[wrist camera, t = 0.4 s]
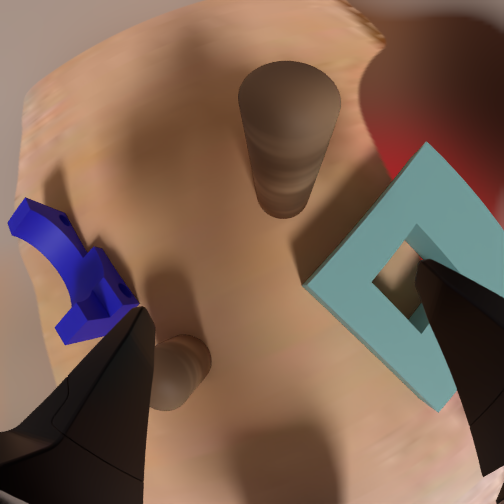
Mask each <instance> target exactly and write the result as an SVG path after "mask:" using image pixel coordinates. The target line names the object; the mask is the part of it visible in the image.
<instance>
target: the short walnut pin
mask: <svg viewBox="0 0 504 504" xmlns="http://www.w3.org/2000/svg"><path fill="white" fill-rule="evenodd" d="M210 368H211V355H210V352H209V350H208V348H207V347H206V345H205V344H204V343H203V342H202V341H201V340H199V339H198V338H196V337H193V336H190V335H179V336H176V337H174V338H171V339H169V340H167V341H165V342H163V343H160V344H158V345H156V346H155V354H154V374H153V382H152V390H151V398H150V407H151V408H153V409H156V410H160V411H170V410H174V409H177V408H178V407H180V406H181V405H183V403H184V402H185V401H186V400H187V399H188V398H189V396H190V395H191V394H192V393H193V392H194V390H195V389H196V388H197V387H198V385H199V384H200V383H201V382H202V381H203V379H204V378H205V377H206V376H207V374H208V373H209V371H210Z"/></svg>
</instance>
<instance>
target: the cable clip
mask: <svg viewBox="0 0 504 504" xmlns="http://www.w3.org/2000/svg"><path fill="white" fill-rule="evenodd" d="M8 226H9V229H10V231H11V234H12V235H13V236H16V237H18V238H21V239H23V240H24V241H26V242H28V243H29V244H31V245H32V246H34V247H35V248H36V249H38V250H39V251H40V252H41V253H42V254H43V255H44V256H45V257H46V258H47V259H48V260H49V261H50V262H51V263H52V265H53V266H54V267H55V268H56V270H57V271H58V273H59V274H60V276H61V277H62V279H63V281H64V282H65V284H66V287H67V289H68V291H69V294H70V298H71V304H72V308H71V309H70V310H69V311H68V312H67V314H66V315H65V316H64V317H63V318H62V319H61V321H60V322H59V323H58V324H57V325H56V327H55V329H56V331H57V333H58V334H59V336H60V338H61V339H62V341H63V343H64V344H65V345H68V344H73V343H77V342H81V341H85V340H90V339H94V338H98V337H102V336H105V335H106V334H107V333H108V332H109V331H110V330H111V329H112V328H113V327H114V326H115V325H116V324H117V323H118V322H119V321H120V320H121V319H122V318H123V317H124V316H125V315H126V314H127V313H128V312H129V311H130V310H131V309H132V308H133V307H137V306H138V305H139V304H140V303H139V302H138V301H137V299H136V298H135V296H134V295H133V294H132V292H131V291H130V289H129V288H128V287H127V285H126V284H125V282H124V281H123V279H122V278H121V277H120V275H119V274H118V272H117V271H116V269H115V268H114V266H113V265H112V263H111V262H110V260H109V259H108V257H107V255H106V254H105V252H104V251H103V249H102V248H98V247H93V248H92V249H91V250H90V251H89V252H88V253H87V251H86V250H85V248H84V246H83V245H82V243H81V241H80V239H79V238H78V236H77V234H76V232H75V231H74V229H73V227H72V225H71V223H70V221H69V220H68V218H67V216H66V214H65V213H63V212H61V211H58V210H56V209H53V208H51V207H48V206H46V205H43V204H41V203H38V202H36V201H33V200H31V199H28V198H26V197H25V198H24V200H23V201H22V203H21V204H20V205H19V207H18V208H17V210H16V211H15V212H14V214H13V215H12V217H11V218H10V220H9V221H8Z"/></svg>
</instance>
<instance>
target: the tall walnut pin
mask: <svg viewBox="0 0 504 504" xmlns="http://www.w3.org/2000/svg"><path fill="white" fill-rule="evenodd" d="M238 101H239V107H240V112H241V117H242V122H243V127H244V132H245V137H246V142H247V147H248V152H249V157H250V162H251V167H252V172H253V177H254V183H255V188H256V193H257V198H258V202H259V204H260V206H261V208H262V209H263V210H264V211H265V212H266V213H267V214H269V215H270V216H273V217H275V218H280V219H287V218H291V217H294V216H296V215H298V214H299V213H300V212H301V211H302V210H303V209H304V208H305V206H306V204H307V202H308V199H309V197H310V194H311V191H312V188H313V186H314V183H315V180H316V177H317V175H318V172H319V169H320V166H321V164H322V161H323V158H324V155H325V152H326V150H327V147H328V144H329V141H330V138H331V135H332V132H333V130H334V127H335V124H336V121H337V118H338V115H339V112H340V108H341V97H340V94H339V91H338V89H337V87H336V85H335V84H334V82H333V81H332V80H331V79H330V78H329V77H328V76H327V75H326V74H325V73H323V72H322V71H321V70H319V69H317V68H315V67H313V66H311V65H308V64H305V63H300V62H294V61H278V62H273V63H269V64H266V65H263V66H261V67H259V68H257V69H255V70H254V71H252V72H251V73H250V74H249V75H248V76H247V77H246V78H245V79H244V81H243V82H242V84H241V86H240V89H239V94H238Z"/></svg>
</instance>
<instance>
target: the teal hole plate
mask: <svg viewBox="0 0 504 504" xmlns="http://www.w3.org/2000/svg"><path fill="white" fill-rule="evenodd" d="M404 240H405V241H406V242H407V243H408V244H409V245H410V246H411V247H412V248H413V249H414V250H415V251H416V252H417V253H418V254H419V256H420V257H421V258H422V259H423V260H425V259H432V260H434V261H436V262H438V263H440V264H442V265H444V266H446V267H448V268H450V269H452V270H454V271H456V272H458V273H460V274H462V275H464V276H465V277H467V278H469V279H471V280H473V281H475V282H477V283H478V284H480V285H482V286H484V287H486V288H488V289H489V290H491V291H493V292H495V293H496V294H498V295H500V296H502V297H503V298H504V231H503V229H502V228H501V226H500V225H499V224H498V222H497V221H496V219H495V218H494V217H493V215H492V214H491V213H490V211H489V210H488V209H487V208H486V207H485V205H484V204H483V203H482V201H481V200H480V199H479V198H478V196H477V195H476V194H475V193H474V192H473V190H472V189H471V188H470V187H469V186H468V185H467V183H466V182H465V181H464V180H463V179H462V178H461V177H460V175H459V174H458V173H457V172H456V171H455V170H454V169H453V168H452V167H451V166H450V165H449V164H448V163H447V161H445V160H444V158H443V157H442V156H441V155H440V154H439V153H438V152H437V151H436V150H435V149H433V148H432V147H431V145H430V144H429V143H427V142H426V143H425V144H424V145H423V146H422V147H421V148H420V149H419V150H418V151H417V152H416V153H415V154H414V155H413V156H412V157H411V158H410V159H409V161H408V162H407V163H406V165H405V166H404V167H403V168H402V170H401V171H400V172H399V173H398V175H397V176H396V177H395V178H394V180H393V181H392V182H391V183H390V185H389V186H388V187H387V188H386V190H385V191H384V192H383V193H382V194H381V196H380V197H379V198H378V199H377V201H376V202H375V203H374V204H373V205H372V207H371V208H370V209H369V210H368V211H367V213H366V214H365V215H364V216H363V217H362V218H361V220H360V221H359V222H358V223H357V224H356V225H355V227H354V228H353V229H352V230H351V231H350V232H349V234H348V235H347V236H346V237H345V238H344V239H343V240H342V242H341V243H340V244H339V245H338V246H337V247H336V248H335V250H334V251H333V252H332V253H331V254H330V255H329V256H328V257H327V259H326V260H325V261H324V262H323V263H322V264H321V265H320V266H319V267H318V269H317V270H316V271H315V272H314V273H313V274H312V275H311V276H310V277H309V278H308V279H307V281H306V282H305V283H304V284H303V285H302V286H303V287H304V288H305V289H306V290H307V291H308V292H309V293H310V294H311V295H312V296H313V297H314V298H315V299H316V300H317V301H318V302H320V303H321V304H322V305H323V306H324V307H325V308H326V309H327V310H328V311H329V312H330V313H331V314H332V315H333V316H334V317H335V318H336V319H337V320H338V321H339V322H341V323H342V324H343V325H344V326H345V327H346V328H347V329H348V330H349V331H350V332H351V333H352V334H353V335H354V336H355V337H356V338H357V339H358V340H359V341H360V342H361V343H362V344H364V345H365V346H366V347H367V348H368V349H369V350H370V351H371V352H372V353H373V354H374V355H375V356H376V357H377V358H378V359H379V360H380V361H381V362H382V363H383V364H384V365H385V366H386V367H387V368H388V369H389V370H391V371H392V372H393V373H394V374H395V375H396V376H397V377H398V378H399V379H400V380H401V381H402V382H403V383H404V384H405V385H406V386H407V387H408V388H409V389H410V390H411V391H412V392H413V393H414V394H415V395H416V396H417V397H418V398H419V399H421V400H422V401H423V402H425V403H426V404H427V405H429V406H430V407H431V408H433V409H434V410H436V411H437V412H438V413H439V411H440V410H441V409H442V408H443V407H444V405H445V404H446V403H447V402H448V401H449V399H450V398H451V397H452V396H453V394H454V393H455V392H456V391H457V388H456V386H455V383H454V380H453V378H452V375H451V373H450V370H449V368H448V365H447V363H446V360H445V358H444V355H443V353H442V351H441V348H440V346H439V344H438V342H437V339H436V337H435V335H434V333H433V331H432V328H431V326H430V324H429V321H428V319H427V316H426V313H425V310H424V308H423V305H422V302H421V304H420V305H419V306H418V308H417V309H416V310H415V312H414V313H413V314H412V316H411V317H410V318H409V320H408V319H407V318H406V317H405V316H404V315H403V314H402V313H401V312H400V311H399V310H398V309H397V308H396V307H395V306H394V305H393V304H392V303H391V302H390V301H389V300H388V299H387V297H386V296H385V295H384V294H383V293H382V292H381V291H380V290H379V289H378V288H377V287H376V286H375V285H374V284H373V283H372V281H373V279H374V278H375V277H376V276H377V274H378V273H379V272H380V271H381V270H382V268H383V267H384V266H385V265H386V263H387V262H388V261H389V259H390V258H391V257H392V256H393V254H394V253H395V252H396V250H397V249H398V248H399V246H400V245H401V244H402V243H403V241H404Z"/></svg>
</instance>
